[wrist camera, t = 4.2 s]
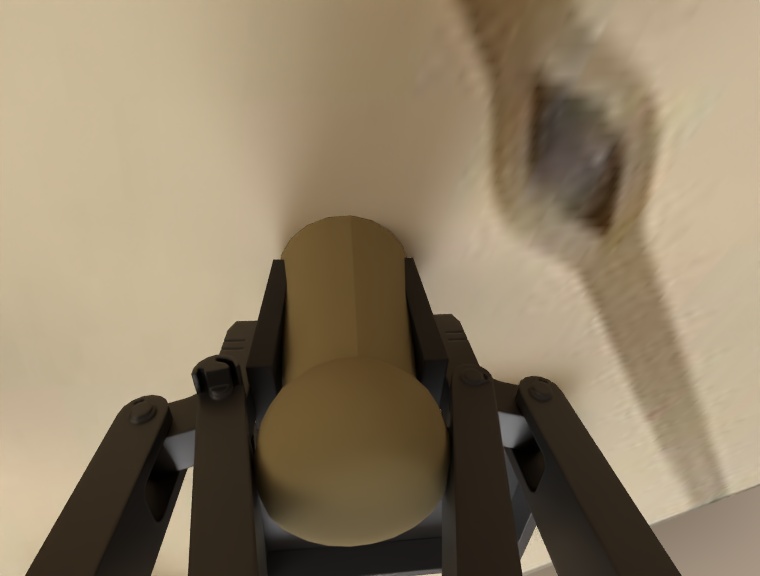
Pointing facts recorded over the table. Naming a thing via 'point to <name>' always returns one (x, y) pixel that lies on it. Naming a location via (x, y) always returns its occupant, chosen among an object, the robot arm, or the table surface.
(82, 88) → the table surface
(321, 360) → the tan pawn
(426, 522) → the dark grey shallow tray
